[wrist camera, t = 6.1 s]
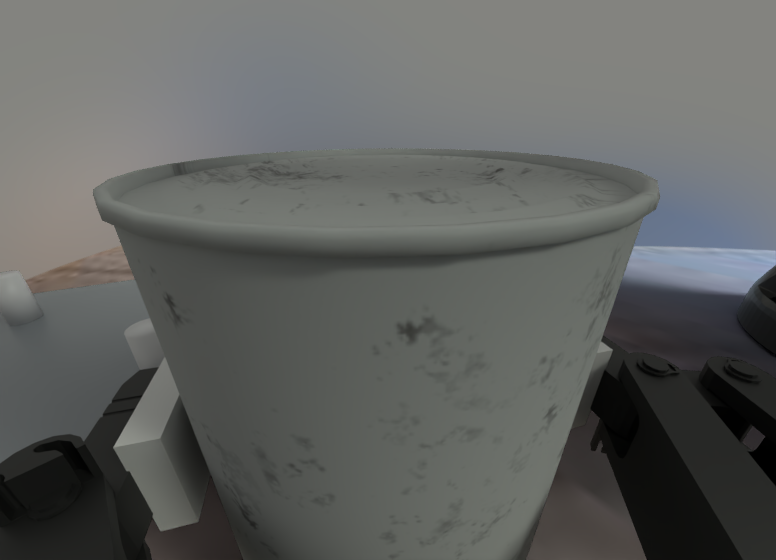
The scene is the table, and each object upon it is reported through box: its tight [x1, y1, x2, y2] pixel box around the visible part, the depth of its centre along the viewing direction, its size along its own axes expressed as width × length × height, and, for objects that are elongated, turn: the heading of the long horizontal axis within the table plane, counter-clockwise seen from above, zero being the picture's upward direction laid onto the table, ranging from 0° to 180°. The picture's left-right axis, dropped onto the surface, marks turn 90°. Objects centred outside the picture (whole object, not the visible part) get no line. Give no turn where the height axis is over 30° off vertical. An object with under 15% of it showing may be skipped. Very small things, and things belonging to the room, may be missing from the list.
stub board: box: [0, 271, 165, 463], centre depth 18 cm, size 20×18×5 cm
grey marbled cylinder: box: [93, 149, 660, 560], centre depth 10 cm, size 10×10×12 cm
